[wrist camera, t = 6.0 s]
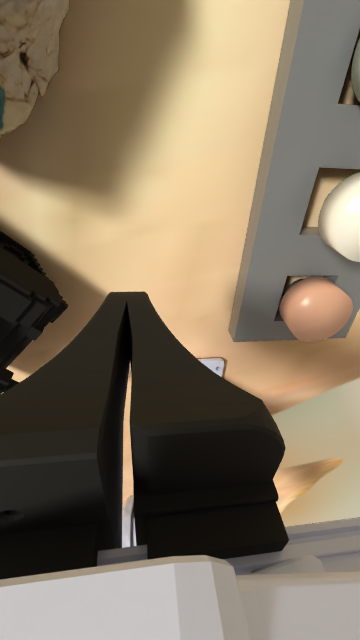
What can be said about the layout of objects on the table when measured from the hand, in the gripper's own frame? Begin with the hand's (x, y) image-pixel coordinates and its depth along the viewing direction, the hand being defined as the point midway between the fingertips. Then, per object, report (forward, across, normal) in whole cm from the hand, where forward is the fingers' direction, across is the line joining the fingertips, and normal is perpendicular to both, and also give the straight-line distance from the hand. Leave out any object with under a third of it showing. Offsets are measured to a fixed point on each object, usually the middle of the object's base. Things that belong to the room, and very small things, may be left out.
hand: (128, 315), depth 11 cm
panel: (+10, -13, -2) cm, 17 cm away
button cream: (+8, -13, -2) cm, 16 cm away
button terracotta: (+10, -13, +5) cm, 17 cm away
